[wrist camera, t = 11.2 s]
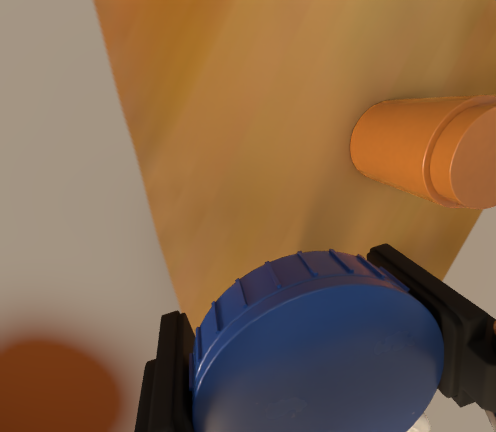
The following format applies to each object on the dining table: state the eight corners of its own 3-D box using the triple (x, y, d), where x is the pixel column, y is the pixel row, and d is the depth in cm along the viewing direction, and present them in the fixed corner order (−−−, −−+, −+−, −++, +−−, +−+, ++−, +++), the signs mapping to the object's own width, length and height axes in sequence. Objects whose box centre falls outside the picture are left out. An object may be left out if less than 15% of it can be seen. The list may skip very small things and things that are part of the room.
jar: (414, 175, 26) (530, 208, 17) (347, 183, 25) (433, 223, 16) (425, 97, 23) (566, 89, 15) (352, 102, 22) (456, 97, 14)
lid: (223, 225, 7) (233, 258, 5) (439, 269, 9) (493, 302, 7) (167, 427, 9) (163, 494, 7) (355, 429, 11) (383, 483, 9)
